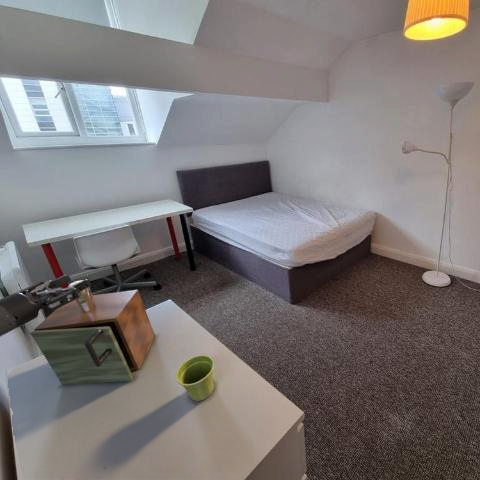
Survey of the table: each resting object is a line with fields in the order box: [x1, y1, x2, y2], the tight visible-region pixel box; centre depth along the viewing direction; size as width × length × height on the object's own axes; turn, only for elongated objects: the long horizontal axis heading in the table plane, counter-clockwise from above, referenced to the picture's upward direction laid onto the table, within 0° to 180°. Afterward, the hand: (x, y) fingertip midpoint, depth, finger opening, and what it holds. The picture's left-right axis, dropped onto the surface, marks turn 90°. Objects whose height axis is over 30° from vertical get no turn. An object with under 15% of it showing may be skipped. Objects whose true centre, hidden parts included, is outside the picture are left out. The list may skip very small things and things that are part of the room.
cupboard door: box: [29, 327, 134, 386], centre depth 72 cm, size 6×20×20 cm, turn 92°
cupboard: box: [33, 289, 156, 371], centre depth 83 cm, size 14×20×20 cm
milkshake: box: [67, 273, 96, 312], centre depth 77 cm, size 5×5×10 cm
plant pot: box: [175, 354, 215, 402], centre depth 73 cm, size 9×9×9 cm
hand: (79, 279), depth 76 cm, fingers open, 8 cm apart
